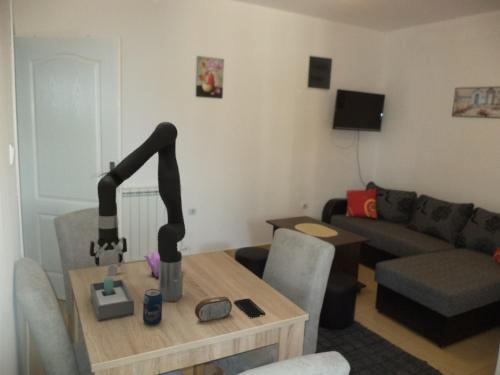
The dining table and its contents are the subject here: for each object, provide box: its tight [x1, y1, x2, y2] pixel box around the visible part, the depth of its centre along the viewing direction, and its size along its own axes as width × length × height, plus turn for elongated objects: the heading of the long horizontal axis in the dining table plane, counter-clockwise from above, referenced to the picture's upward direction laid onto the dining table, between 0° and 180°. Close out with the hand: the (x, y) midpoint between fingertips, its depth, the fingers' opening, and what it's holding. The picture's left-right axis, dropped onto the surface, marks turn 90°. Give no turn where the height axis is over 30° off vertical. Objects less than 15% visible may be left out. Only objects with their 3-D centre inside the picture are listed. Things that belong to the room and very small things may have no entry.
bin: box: [90, 279, 135, 322], centre depth 153 cm, size 13×22×6 cm, turn 29°
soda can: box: [142, 288, 163, 327], centre depth 142 cm, size 7×7×12 cm
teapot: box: [142, 250, 160, 279], centre depth 187 cm, size 20×10×12 cm, turn 118°
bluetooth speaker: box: [194, 296, 233, 322], centre depth 148 cm, size 15×3×8 cm, turn 119°
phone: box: [233, 298, 266, 319], centre depth 158 cm, size 8×1×15 cm
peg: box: [103, 277, 114, 296], centre depth 158 cm, size 4×4×8 cm
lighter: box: [107, 259, 124, 277], centre depth 184 cm, size 7×2×8 cm, turn 120°
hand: (108, 263), depth 156 cm, fingers open, 8 cm apart
